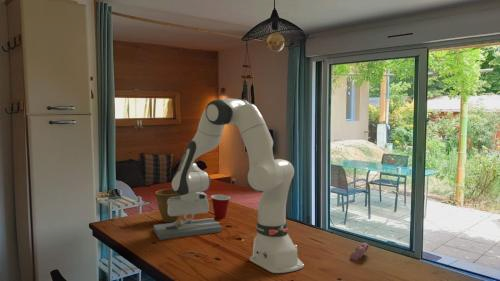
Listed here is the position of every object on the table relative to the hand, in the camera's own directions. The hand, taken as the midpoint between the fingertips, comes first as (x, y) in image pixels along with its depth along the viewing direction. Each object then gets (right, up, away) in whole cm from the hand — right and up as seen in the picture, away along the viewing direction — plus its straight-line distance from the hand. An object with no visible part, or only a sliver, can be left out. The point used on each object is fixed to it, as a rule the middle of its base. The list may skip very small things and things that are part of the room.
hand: (188, 223), depth 184 cm
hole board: (-1, -4, 0) cm, 4 cm away
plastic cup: (+14, -2, +24) cm, 28 cm away
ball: (-4, +1, -2) cm, 4 cm away
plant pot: (-13, -3, +17) cm, 22 cm away
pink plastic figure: (+75, -7, -33) cm, 82 cm away
